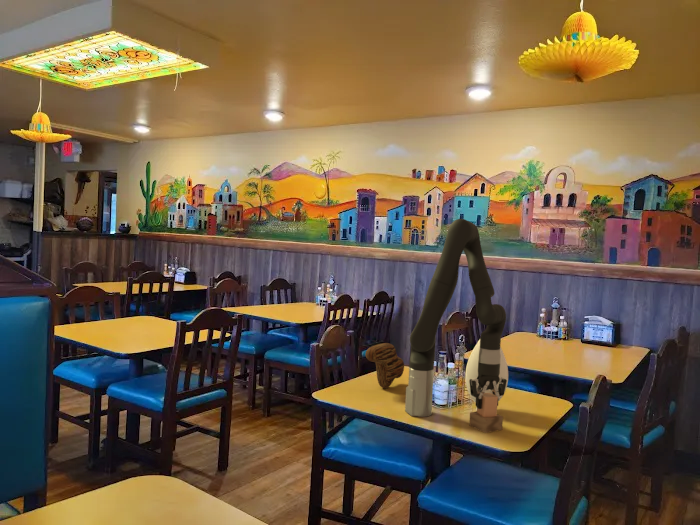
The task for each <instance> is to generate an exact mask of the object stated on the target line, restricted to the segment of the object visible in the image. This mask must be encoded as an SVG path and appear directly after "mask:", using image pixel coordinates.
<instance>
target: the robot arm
mask: <svg viewBox="0 0 700 525" xmlns="http://www.w3.org/2000/svg"><path fill="white" fill-rule="evenodd" d="M463 253H464V255H465V257H466V261H467V268H468V277H469V283H470V285H471V288H472V291H473V294H474V300H475V302H474V303H475V304H474V305H475V312H476V317H477V319H478V320H479V322H480V323H481V324H482V325H484V326H486V328H485V329H484V330H483V331H482V332H481V333H480V335H479V336H480V338H479V340H480V350H479V358H478V377H477V379H474V380H472V379H470V380H469V382H470V392H471V395H472V396H474V397H476V402H475V408H476V407H477V408H478V409H481V408H482V399H481V398H482V396H483V394H484V393H485V391H486V390H489V389H490V390H491V391H492V394H494V395H496V396H497V397H498V403H497V407H498V406H499V397H500V396H503V397H504V395H505V393H506V391H505V387H506V382H507V380H506V379H504V378H499V374H500V358H501V354H500V346H501V343H502V342H501V341H502V339H501V338H502V334H503V332H504V328H505V325H506V321H507V313H506V309H505V308H504V306H502V305H501V304H498V303H497V304H494V303H493V302H492V297H494V295H495V289H494V286H493V282H492V280H491V277H490V274H489V271H488V268H487V265H486V263H485V258H484V254H483V250H482V244H481V240H480V232H479V229H478V227H477V225H476V224H475V223H473V222H472V221H470V220H467V219H465V218H457V219H455V220H454V221H452V222H451V224H449V227H448V229H447V233H446V237H445V241H444V244H443V248H442V250H441V254H440V256H439V259H438V262H437V264H436V266H435V270H434V272H433V275H432V278H431V280H430V283H429V285H428V288H427V291H426V295H425V299H424V301H423V302H424V304H423V305H422V311H421V313H420V316H419V319H418V321H417V322H416V324H415V325H414V328H413V330H412V332H411V333H410V336H409V342H410V355H409V363H408V364H409V365H408V382H407V383H408V384H407V385H408V386H406V387H405V401H404V402H405V404H404V405H405V406H404V408H405V409H404V411H405V412H406V414H408V415H409V416H411V417H420V418H421V417H423V418H425V417H429V416H431V415H432V414H433V413H432V412H433V411H432V410H433V395H434V394H433V393H434V392H433V391H434V371H435V369H434V368H435V359H436V342H437V339H436V338H437V337H436V335H437V332H438V328H439V325H440V323H441V319H442V318H443V316H444V314H445V312H446V310H447V307H448V306H449V304H450V302H451V300H452V298H453V295H454V292H455V290H456V288H457V284H458V281H459V269H460V261H461V257H462V254H463ZM498 382H499V387H498V388H497V384H498ZM477 383H479V385H478V388H477V387H476V385H477ZM481 388H482V390H481ZM504 392H505V393H504Z"/></svg>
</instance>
